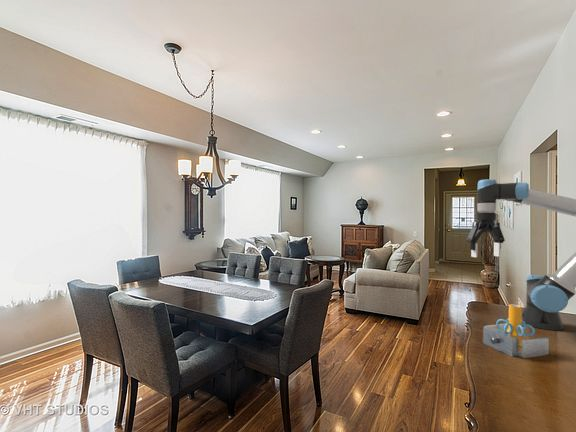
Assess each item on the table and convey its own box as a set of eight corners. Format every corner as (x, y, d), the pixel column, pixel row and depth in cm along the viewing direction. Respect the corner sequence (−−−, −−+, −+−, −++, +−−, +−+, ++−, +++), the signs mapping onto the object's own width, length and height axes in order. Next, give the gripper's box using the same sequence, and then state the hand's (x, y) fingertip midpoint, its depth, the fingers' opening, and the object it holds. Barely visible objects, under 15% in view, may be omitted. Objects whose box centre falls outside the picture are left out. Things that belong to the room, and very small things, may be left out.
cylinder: (539, 352, 112) (540, 311, 112) (507, 349, 114) (508, 309, 114) (521, 339, 124) (521, 302, 124) (492, 336, 126) (493, 300, 126)
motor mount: (507, 337, 128) (507, 322, 128) (548, 354, 113) (548, 337, 113) (474, 341, 124) (475, 325, 124) (513, 359, 108) (513, 341, 108)
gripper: (499, 212, 152) (498, 254, 152) (458, 211, 145) (458, 256, 145) (514, 212, 144) (513, 257, 145) (472, 211, 138) (471, 258, 138)
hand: (485, 256), depth 145 cm, fingers open, 13 cm apart
